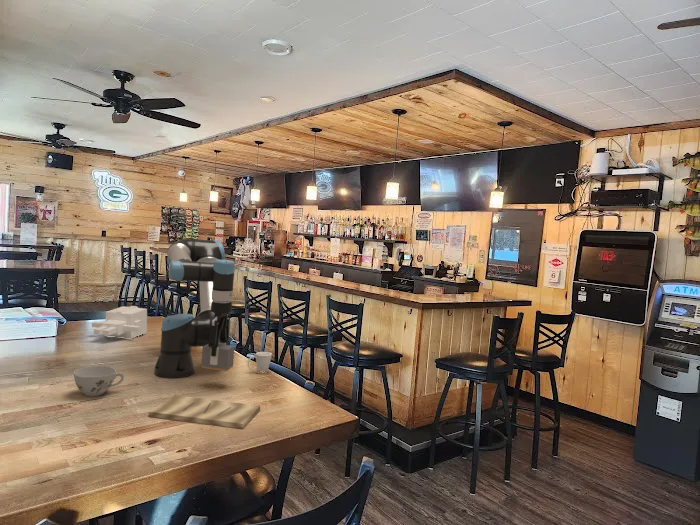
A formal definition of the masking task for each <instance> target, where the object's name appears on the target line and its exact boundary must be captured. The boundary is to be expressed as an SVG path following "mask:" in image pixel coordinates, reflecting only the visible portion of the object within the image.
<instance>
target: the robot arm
mask: <svg viewBox="0 0 700 525" xmlns="http://www.w3.org/2000/svg"><path fill="white" fill-rule="evenodd" d="M225 253H226V252H225V248H224V245H223V243H222V242H221V241H219V240H214V239H211V240H209V239H199V238H182V239H179V240H176V241H174V242H173V243H171V244H170V245H169V247H168V249H167V251H166V255H167V258H168V260H169V261H170V262H169V265H168V279H169V280H170V281H177V282H199V284H198V285H199V301H200V302H199V303H200V312H199V313H198V314H197V316H196V317H195V316H194V315H193V314H192V313H177V314H172V315H168V316H166V317H164V319H163V320H162V321H161V322H162V323H161V328H160V330H161V336H160V337H161V338H160V349H159V350H160V351H159V356H158V359H157V361H156V363H155V366H154V372H153V374H154V375H155V376H156V377H160V378H167V379H168V378H169V379H174V378H175V379H177V378H185V377H189V376H192V375H193V374H195V363H194V361H193V360H194V359H193V356H192V347H193V348H194V347H195V348H196V347H199V348H200V347H203V346H205V345H207V344H208V347H211V356H210V364H211V365H218V354H219V347H218V344H222V345H227V344H229V343H230V342H229V341H230V332H231V317H232V316H231V314H229V313H231V312H232V310H233V309H232V308H233V303H232V301H233V296H234V295H235V294H234V292H233V291H234V282H235V281H234V280H235V279H234V278H235V272H236V268H235V261H234V260H230V259H226V257H225V256H226V255H225Z"/></svg>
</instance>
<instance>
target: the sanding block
mask: <svg viewBox="0 0 700 525" xmlns="http://www.w3.org/2000/svg"><path fill="white" fill-rule="evenodd" d="M218 347H219V354H218V365H211V364H210V356H211V347H208V344H207V345H205V346H202V350H201V352H202V353H201V362H200V363H201V364H200V368H201V369H209V370H216V371H224V372H227V371H229V370H231V369H233V367H234V361H235V360H234V358H235V345H231V344H230V345H229V344H226V345H222V344H218Z"/></svg>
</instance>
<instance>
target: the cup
mask: <svg viewBox="0 0 700 525" xmlns="http://www.w3.org/2000/svg"><path fill="white" fill-rule="evenodd" d="M272 355H273V353H272V352H269V351H258V352H256V353H255V355H252V356H250V357H249V358H248V360H247V367H248V368H249V370H251V371H252V372H253V373H256V374H259V373H262V372H260V371H263V372H264V371H265V372H264V373H266V374H268V373H267V372H268V370H269V369H270V364H271V359H272ZM252 358H254V359H255V365H256V369H257V371H255V370H253V369H252V368H251V367H250V366H249V364H250V360H251V359H252Z"/></svg>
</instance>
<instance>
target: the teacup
mask: <svg viewBox="0 0 700 525" xmlns="http://www.w3.org/2000/svg"><path fill="white" fill-rule="evenodd" d="M124 376H125V375H124V373H123V372H120V371H119V372H117V370H116V368H114V367H111V366H108V365H107V366H106V365H90V366H84V367H82V368H77V369H75V370H74V371H73V377H74V383H75V385H76V387H77V388H78V390H79V391H80V392H81V393H82V394H83V395H84V396H86V397H99V396H102V395H103V394H104V393H105V392H107V390H109V388H111V387H115V386H119V385H120V384H121V383H122V382H123V381H124V378H125V377H124ZM117 377H120V378H121V379H120V380H119V381H117V382H116V383H114V381H115V379H116V378H117Z"/></svg>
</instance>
